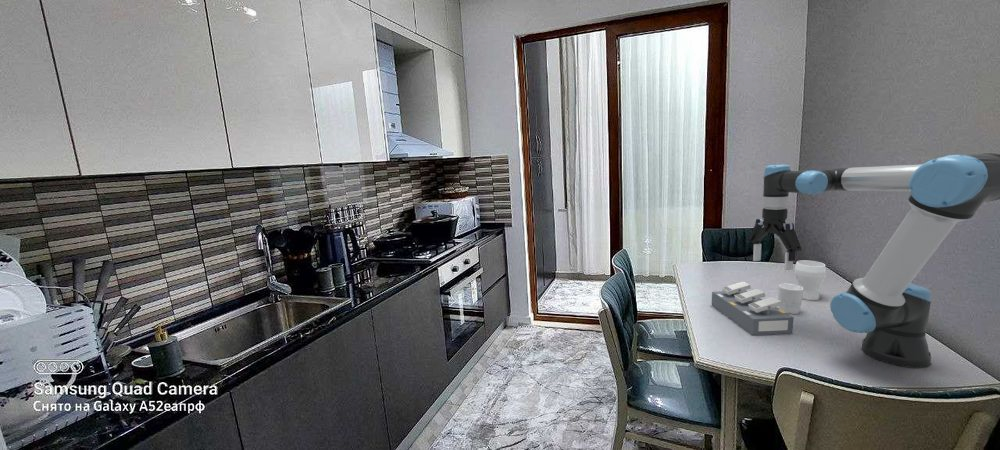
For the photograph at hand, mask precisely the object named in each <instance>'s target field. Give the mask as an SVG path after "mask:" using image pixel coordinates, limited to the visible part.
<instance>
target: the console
mask: <svg viewBox="0 0 1000 450" xmlns="http://www.w3.org/2000/svg"><path fill="white" fill-rule="evenodd" d="M744 292H748V290H744V291H741V292H737V293H734V294H731V295H728V294H726V293H725V292H723V291H722V290H719V291H718V290H717V291H711V307H713V308H714V309H716V310H717V311H719V313H721V314H723V315H724V316H725V317H727V318H728V319H730V320H731V321H732V322H734V323H735V324H737V325H738V326H739V327H740V328H742V329H743V330H745V331H746V332H747V333H749V334H750V335H751V336H763V335H765V336H766V335H782V334H783V335H785V334H786V335H787V334H793V333H794V332H793V330H794V321H795V318H794V316H793V315H792V314H789V313H786V312H784V311H782V310H780V309H779V307H775V308H771V309H768V310H765V311H761V312H758V313H756V312H755V311H753V310H752V309H750V308H749V305H748V304H750V303H754V302H757V301H761V300H763V299H762V298H758V299H755V300H752V301H748V302H745V303H740V302H739V301H737V300H736V299H735V296H734V295H738V294H741V293H744Z"/></svg>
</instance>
